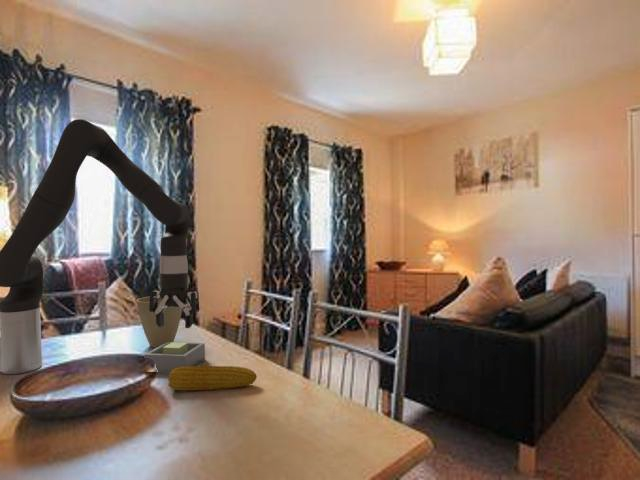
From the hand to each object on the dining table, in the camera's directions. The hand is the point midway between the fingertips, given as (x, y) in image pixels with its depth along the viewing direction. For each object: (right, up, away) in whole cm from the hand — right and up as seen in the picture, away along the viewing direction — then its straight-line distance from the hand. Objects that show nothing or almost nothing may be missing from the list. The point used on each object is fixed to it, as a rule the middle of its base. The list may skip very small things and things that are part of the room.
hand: (174, 327), depth 113 cm
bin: (0, -11, 0) cm, 11 cm away
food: (+15, -12, -16) cm, 25 cm away
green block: (0, -10, 0) cm, 10 cm away
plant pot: (-12, -11, +22) cm, 27 cm away
